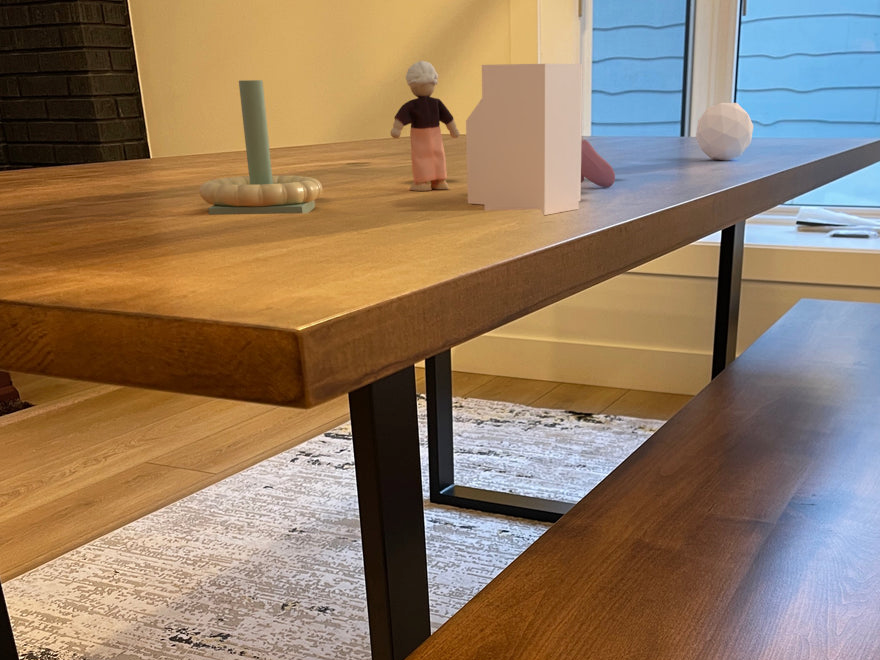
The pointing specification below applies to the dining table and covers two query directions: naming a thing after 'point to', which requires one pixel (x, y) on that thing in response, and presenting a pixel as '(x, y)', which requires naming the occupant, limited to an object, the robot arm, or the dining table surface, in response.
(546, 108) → the white angular block
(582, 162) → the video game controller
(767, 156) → the dining table surface
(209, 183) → the bracelet
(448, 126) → the grandmother figurine
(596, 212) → the dining table surface
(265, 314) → the dining table surface
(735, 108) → the geometric ball
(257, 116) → the green peg stand
